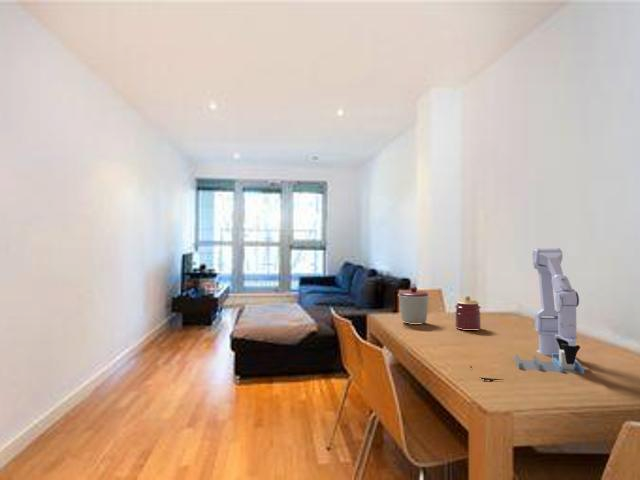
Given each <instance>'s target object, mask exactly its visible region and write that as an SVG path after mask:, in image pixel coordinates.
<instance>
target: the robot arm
mask: <svg viewBox="0 0 640 480" xmlns="http://www.w3.org/2000/svg"><path fill="white" fill-rule="evenodd" d="M562 261H563V251H562V250H561V248H559V247H556V248H555V247H554V248H553V247H552V248H545V247H544V248H534V250H533V251H532V265H533V269H535V270H537V273H538V279H539V281H538V282H539V292H540V293H539V294H540V304H541V309H540V310H539V311H537V312H536V313H535V315H534V321H533V322H534V323H533V324H534V329H535V331H536V333H539V336H538V349H537V350H536V352H537V353H539V354H540V355H543V356H548V357H552V353H557V354H559V350H564V353H565V358H566V362H567V364H574V362H575V359H576V358H577V353H578V352H579V350H580V349H581V346H580V345H577V344H576V341H577V340H578V336H577V308H578V307H579V304H580V296H579V293H578V291H576V290H575V289H574V288H573V287H572V286H571V283H570V280H569V277H568V276H566V275H564V274H563V273H564V272H563V269H562V265H561V264H562ZM554 293H555V297H554ZM555 304H556V305H555ZM555 306H556V307H555Z"/></svg>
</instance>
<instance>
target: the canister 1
mask: <svg viewBox="0 0 640 480" xmlns="http://www.w3.org/2000/svg"><path fill="white" fill-rule="evenodd" d="M397 296H398V297H399V308H400V314H401V315H400V316H401V320H402V322H403V321H405V322H409V323H424V322H425V323H426V322H427V321H428V320H427V319H428V311H429V310H428V309H429V299H430V297H431V295H430V294H429V293H428V292H426V291H421V290H418V288H417V286H412V287H410V290H405V291H401V292H400V293H398V294H397ZM425 323H424V324H425Z"/></svg>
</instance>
